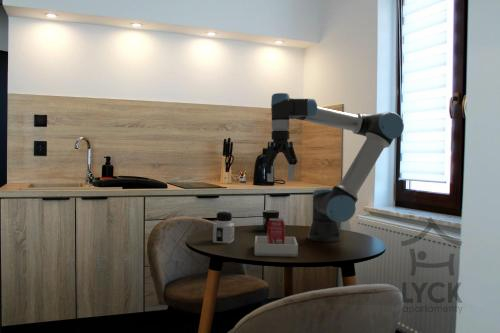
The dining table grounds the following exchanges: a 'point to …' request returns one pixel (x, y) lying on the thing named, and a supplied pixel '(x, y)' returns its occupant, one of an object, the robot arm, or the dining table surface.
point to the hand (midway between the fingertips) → (280, 180)
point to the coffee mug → (269, 217)
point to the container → (223, 228)
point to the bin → (276, 247)
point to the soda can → (276, 231)
